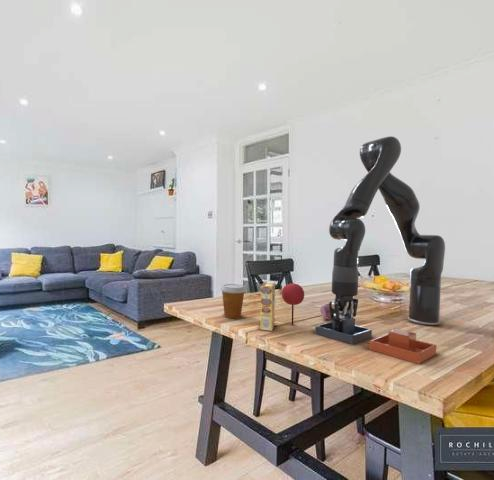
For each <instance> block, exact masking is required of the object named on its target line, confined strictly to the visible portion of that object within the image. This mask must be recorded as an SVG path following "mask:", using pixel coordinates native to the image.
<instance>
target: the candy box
mask: <svg viewBox="0 0 494 480" xmlns="http://www.w3.org/2000/svg"><path fill="white" fill-rule="evenodd" d="M275 305H276V282H270V281H264V282H263V283H262V284H261V285H260V320H259V321H260V322H259V323H260V324H259V325H260V328H259V330H260V331H269V332H270V331H271V332H272V331H273V329H274V326H275V308H276V307H275Z"/></svg>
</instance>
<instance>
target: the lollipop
mask: <svg viewBox="0 0 494 480" xmlns="http://www.w3.org/2000/svg"><path fill="white" fill-rule="evenodd" d="M281 298H282V300H283V301H284V303H286V304H288V305H291V326H294V306H298V305H300V304H301V303H302V302H303V301H304V299H305V290H304V288H303V287H302V286H301V285H299V284H298V283H287V284H285V285H284V286H283V287H282V290H281Z"/></svg>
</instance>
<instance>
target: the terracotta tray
mask: <svg viewBox="0 0 494 480" xmlns="http://www.w3.org/2000/svg"><path fill="white" fill-rule="evenodd" d="M368 349H369V350H370V351H374V352H377V353H380V354H383V355H387V356H391V357H395V358H397V359H401V360H405V361H407V362H410V363H411V362H412V363H415V364H418V365H419V364H422V363H424V362H425V361H426V360H428V359H430V358H432V357H433V356H435V355H437V344H433V343H429V342H425V341H421V340H417V339H416V351H414V352H412V351H409V350H405V349H401V348H398V347H394V346H390V345H389V333H386V334H383V335H381V336H378V337H375V338H373V339H371V340H369V348H368Z"/></svg>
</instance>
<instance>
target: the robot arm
mask: <svg viewBox="0 0 494 480" xmlns="http://www.w3.org/2000/svg"><path fill="white" fill-rule="evenodd" d="M401 153H402V145H401V142H400V140H399V139H398V138H397V137H395V136H392V135H391V136H383V137H381V138H377V139H374V140H370V141H367V142H365V143H363V144H362V145H361V146H360V148H359V158H360V161H361V163H362V166H363V167H364V169H365V170H366V171H367V173H366V174H365V175H364V176H363V177H362V178H361V179H360V180H359V181H358V182H357V183H356V185H354V186H353V188H352V189H351V191H350V193H349V195H348V197H347V199H346V202H345V203H344V206H342V208H340V209H339V211H338V212H337V213H336V214H335V216H334V217H333V218H332V219H331V221H330V224H329V226H328V233H329V235H330V237H331V239H333V240H337V241H346V242H345V244H344V246H341V247H336V248H335V249H334V251H333V266H332V274H331V275H332V276H331V293H332V294H334V295H335V297H334V301H329V303H328V304H329V307H330V317H331V318H330V320H331V321H332V320H334V321H335V331H338V332H342V329H343V318H344V316H345V317H350V318H355V317H357V311H358V304H359V299H358V298H354V297H356V296H358V294H359V293H358V292H359V269H358V268H359V267H358V266H359V253H360V250H361V247H362V244H363V242H364V241H363V240H364V238H365V235H366V225H365V223H364V222H363V220H362V219H360V218H364V217H365V216H366V215H367V214H368V211H369V210H370V208H371V205H372V202H373V200H374V198H375V196H376V194H377V192H378V191H379V192H380V195H381V196H382V198H383V201H384V203H385V205H386V207H387V209H388V211H389V213H390V215H391V216H392V219H393V220H394V224H395V225H396V228H397V229H398V232H399V234H400V237H401V240H402V243H403V246H404V249H405V250H406V252H407V254H408V255H409V257H411V258H414V259H417V260H418V259H419V260H425V261H424V264H423V265H421V266H417V267H414V268H411V269H410V276H409V277H410V278H409V280H410V281H409V301H408V303H409V304H408V317H407V318H408V319H407V320H408V321H409V322H411V323H414V324H417V325H423V326H432V327H433V326H434V327H435V326H439V325H440V312H441V308H440V307H441V289H442V288H441V287H442V274H443V270H444V262H445V254H446V241H445V240H444V238H443V237H442V236H441V235H437V234H420V233H419V232H418V230H417V227H416V221H417V217H418V215H419V213H420V208H421V207H420V202H419V199H418V198H417V195H416V193H415V191H414V190H413V188H412V187H411V186H410V185H408V184H407V183H406V182H405V181H403V180H401V179H400V178H398V177H397V176H395V175H393V174H392V172H391V171H392V169H393V168H394V167H395V165H396V163H397V162H398V161H399V159H400V157H401ZM339 311H342V312H339ZM340 315H341V316H340Z"/></svg>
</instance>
